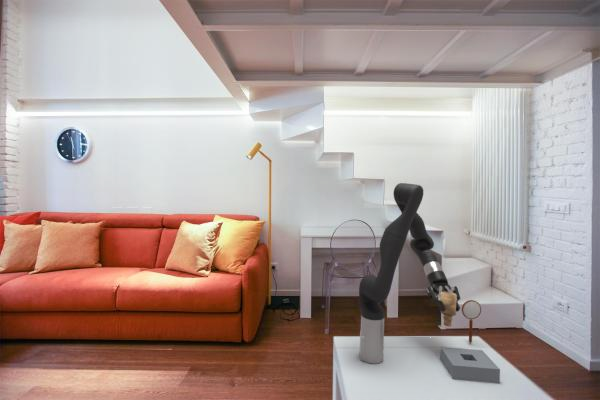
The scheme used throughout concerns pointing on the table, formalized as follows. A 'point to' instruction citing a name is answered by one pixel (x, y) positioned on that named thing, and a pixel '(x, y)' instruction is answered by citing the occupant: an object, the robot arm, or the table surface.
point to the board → (469, 365)
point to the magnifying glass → (471, 313)
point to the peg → (448, 306)
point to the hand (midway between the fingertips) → (450, 310)
